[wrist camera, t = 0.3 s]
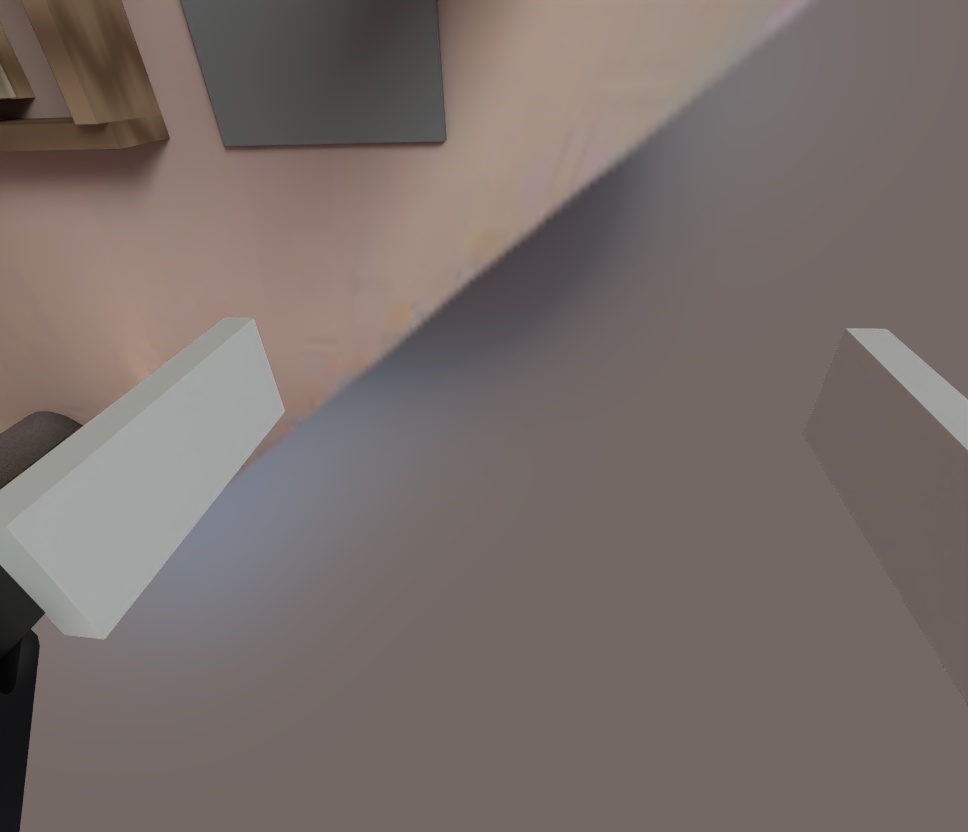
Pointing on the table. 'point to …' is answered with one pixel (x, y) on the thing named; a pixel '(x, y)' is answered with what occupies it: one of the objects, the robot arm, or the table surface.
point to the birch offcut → (5, 86)
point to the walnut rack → (89, 81)
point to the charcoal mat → (321, 70)
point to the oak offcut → (13, 69)
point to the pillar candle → (31, 441)
